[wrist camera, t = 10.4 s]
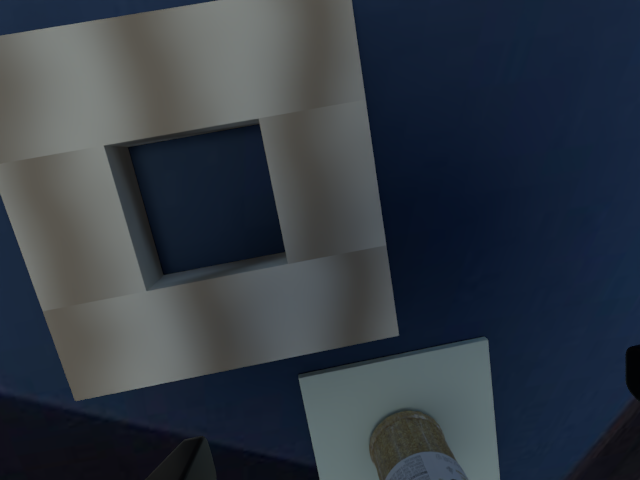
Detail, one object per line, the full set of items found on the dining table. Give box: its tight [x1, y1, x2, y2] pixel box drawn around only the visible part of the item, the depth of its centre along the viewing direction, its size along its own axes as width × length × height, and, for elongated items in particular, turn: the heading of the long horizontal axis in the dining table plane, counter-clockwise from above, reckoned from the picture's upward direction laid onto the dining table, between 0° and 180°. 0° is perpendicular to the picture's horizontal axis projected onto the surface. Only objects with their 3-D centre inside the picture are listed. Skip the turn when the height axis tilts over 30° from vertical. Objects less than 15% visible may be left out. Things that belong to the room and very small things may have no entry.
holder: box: [0, 0, 399, 401], centre depth 18 cm, size 16×16×2 cm
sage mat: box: [298, 337, 500, 480], centre depth 23 cm, size 11×11×1 cm
